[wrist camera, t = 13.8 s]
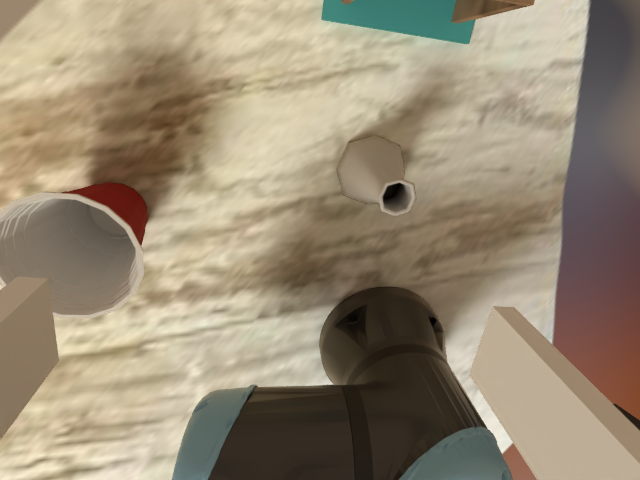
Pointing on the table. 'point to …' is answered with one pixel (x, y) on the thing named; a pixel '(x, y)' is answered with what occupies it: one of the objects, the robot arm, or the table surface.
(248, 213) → the table surface
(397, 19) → the mat
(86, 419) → the table surface
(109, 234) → the plastic cup
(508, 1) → the brown wooden box frame
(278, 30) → the table surface
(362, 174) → the flask
